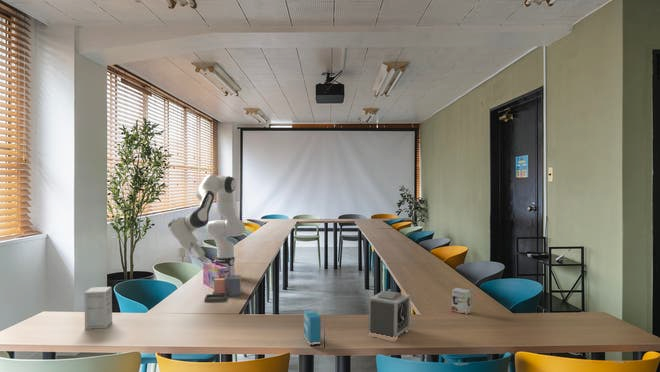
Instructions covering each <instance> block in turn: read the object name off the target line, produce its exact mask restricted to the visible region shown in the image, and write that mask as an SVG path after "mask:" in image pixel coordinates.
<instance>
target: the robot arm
mask: <svg viewBox="0 0 660 372" xmlns="http://www.w3.org/2000/svg"><path fill="white" fill-rule="evenodd" d="M236 187H237V182H236V179H235V178H234V177H233V176H230V175H228V176H226V175H216V174H213V173H212V174H211V173H209V174H207V175H206V176H204V177H203V178H202V180H201V182H200V184H199V186H198V188H197V190H196V194H195V195H196V198H197V199H198V200H199V201H200V203H199V206H198V208H197V209H195V210H193V211H192V212H191V213H190V214H188V215H185V216H176V217H175V216H174V218H173V219H171V220H170V221H169V222H168V224H167V227H168V229H169V231H170V233H171V234H172V236H173V237H174V238H175V239H176V240H177V241H178V243H179V245H180V246H181V247H182V248H183V250H185V251H188V253H189V254H190V255H191V256H192V257H193V258H196V259H198V260H199V261H200V263H208V261H209V260H208V259H207V258H206V255H205V254H206V252H205V251H204V250H203V248H202V247H201V245H199V243H198V242H199V240H198V238H197V237H196V236H195V235H194V232H195V231H197V230H198V229H200V228H203V227H205V231H206V232H207V234H208V236H210V237H211V238H212V239H213V240H214V242H215V245H216V255H217V256H216V257H215V261H214V262H217V263H220V264H223V265H225V266H229V267H230V275H237V273H236V266H235V259H236V258H235V246H234V244H233V243H232V242H231V241H229V240H227V239H226V237H238V236H243V234H244V233H245V231H246V225H245V223H244V222H243V221H242V220H241V219H240V218H239V217H238V216H237V214H236V211H235V202H234V191H235V190H236ZM215 197H216V212H217V213H218V214H219V215H221V216H223V217H224V218H225V219H215V220H211V221H209V218H210V216H209V215H210V211H211V208H212V205H213V202H214V199H215Z"/></svg>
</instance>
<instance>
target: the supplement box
mask: <svg viewBox="0 0 660 372" xmlns="http://www.w3.org/2000/svg"><path fill="white" fill-rule="evenodd" d="M112 288H113V287H112V286H98V287H95V286H94V287H90V288H89V289H87V290H86V291H84V293H83V294H84V297H83V298H84V330H89V329H90V330H91V329H92V328H95V329H107V328H108V327H109V326H110V325H111V323H113V303H112V302H113V298H112V297H113V296H112V295H113V292H112V291H113V289H112Z"/></svg>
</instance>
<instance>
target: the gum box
mask: <svg viewBox="0 0 660 372" xmlns="http://www.w3.org/2000/svg"><path fill="white" fill-rule="evenodd" d="M202 268H203V269H202V271H203V274H202V275H203V276H202V279H203V280H202V282H203V285H205V286H208V287H210V288H212V289H214V279H220V278H225V276H227V275H230V267H229V266H225V265H223V264H220V263H217V262H215V261H211V262H206V263H205V262H203V267H202ZM225 291H226V279H225Z"/></svg>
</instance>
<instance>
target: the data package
mask: <svg viewBox="0 0 660 372" xmlns="http://www.w3.org/2000/svg"><path fill="white" fill-rule="evenodd" d="M321 318H322V317H321V315H319V314H318V312H317V311H316V310H315V309H310V310H308V309H307V310H304V311H303V336H304V335H305V337H306V338H307V339H308V341H309V342H310V343H313V342H322V332H321V331H322V319H321Z"/></svg>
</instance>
